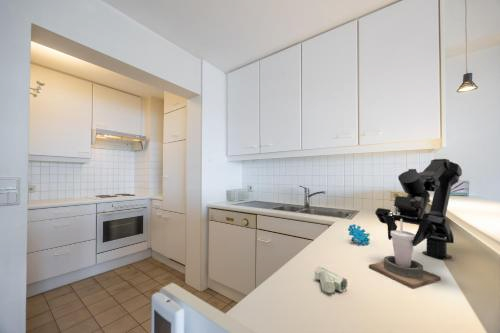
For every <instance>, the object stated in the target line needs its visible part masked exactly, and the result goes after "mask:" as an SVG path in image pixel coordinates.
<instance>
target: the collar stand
mask: <svg viewBox="0 0 500 333" xmlns="http://www.w3.org/2000/svg"><path fill="white" fill-rule="evenodd" d="M368 268H369V269H371V270H373V271H375V272H376V273H379V274H381V275H383V276H386V277H387V278H389V279H392V280H393V281H395V282H398V283H399V284H401V285H404V286H406V287H408V288H410V289H412V290H413V289H417V288H420V287H424V286H427V285H430V284H434V283H436V282H441V280H442V279H441V278H442V276H440V275H437V274H435V273H433V272H429V271H426V270H424V265H423V264H421V263H420V262H419V261H416V260H414V259H411V265H410V267H402V266H399V265H397V264H396V262H395V255H388V256H387V255H386V256H384V258H383V261H380V262H375V263H370V264H368Z"/></svg>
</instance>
